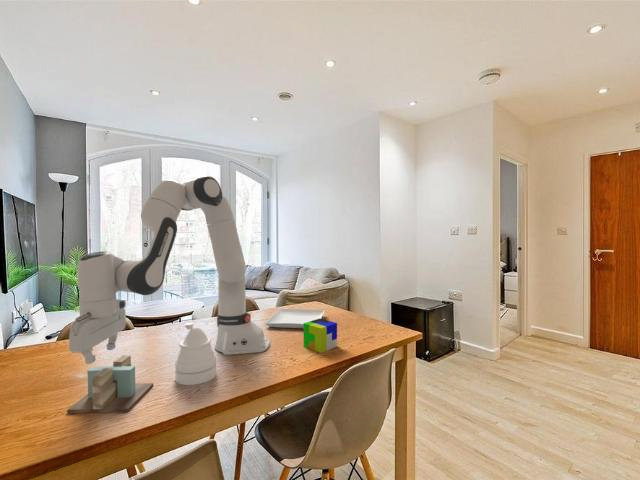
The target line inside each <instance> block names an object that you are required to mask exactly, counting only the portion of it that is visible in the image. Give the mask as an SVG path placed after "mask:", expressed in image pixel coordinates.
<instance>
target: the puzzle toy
mask: <svg viewBox="0 0 640 480" xmlns="http://www.w3.org/2000/svg"><path fill="white" fill-rule="evenodd" d="M337 346H338V323H337V322H334V321H332V320H328V319H324V318H321V319H320V318H319V319H316V320H313V321H310V322H306V323H304V329H303V348H306V349H309V350H312V351H314V352H317V353H320V354H322V353H324V351H325V352H326V351H329V350H331V349H334V348H337Z"/></svg>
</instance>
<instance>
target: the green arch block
mask: <svg viewBox="0 0 640 480" xmlns="http://www.w3.org/2000/svg"><path fill="white" fill-rule="evenodd" d="M112 368H113V381H115V380H117V394H118V397H132V396H133V395H134V394H135V393H136V391H135V383H136V366H134V365H133V366H132V365H131V366H117V367H113V366H93V367H91V368H90V369H88V370H87V394H88V398H93V391H92V376H94V375H95V374H96V373H98V372H99V371H101V370H102V369H112Z"/></svg>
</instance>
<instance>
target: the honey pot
mask: <svg viewBox="0 0 640 480" xmlns="http://www.w3.org/2000/svg"><path fill="white" fill-rule="evenodd" d="M185 328H186V329H187V330H189V331H188V332H187V334H186V336H185V337H184V339H182V340H181V341H179V343H178V346H179V348H180V351H178V355H177V359H176V360H175V364H174V365H175V374H174V375H175V376H174V377H175V381H176V383H177V384H180V385H184V386H191V385H199V384H204V383H206V382H208V381H211V380H212V379H214V378H215V376H216V375H217V357H216V355H215V352H214V348H213V347H212V345H211V343H212V340H211V338H210V337H208V336H207V334H206V333H205V331H204V330H203V329H202V328H201V327H199V326H194V322H186V323H185ZM203 382H204V383H203Z"/></svg>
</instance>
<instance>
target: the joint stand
mask: <svg viewBox="0 0 640 480" xmlns="http://www.w3.org/2000/svg"><path fill="white" fill-rule="evenodd" d="M131 359H132V355H131V354H129V355H125V354H123V355H121V356H120V357H118V358H116V359H115V360H114V361H113V362H112V363H113V364H112V365H113V366H112V367H117V366H132V362H131V361H132V360H131ZM153 387H154V383H152V382H151V383H150V382H146V383H144V382H143V383H138V382H137V383H136V382H135V391H136V393H135V394H134V395H133V396H132V397H118V394H117V380H115V381H113V368H112V369H102V370H101V371H99V372H98V373H96V374H95V375H94V376H92V391H93V398H88V393H87V394H86V395H85V396H83V397H82V398H81V399H80V400H78V401H77V402H75V403H74V404H72V405H71V406H70V407H69V408H68V409H67V410H66V411H67V414H96V413H97V414H101V413H129V412H130V411H131V410H132V409H133V408H134V407H135V406H136V405H137V404H138V403H139V402H140V400H142V399H143V397H145V395H147V393H148V392H149V391H150V390H151V389H153Z"/></svg>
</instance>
